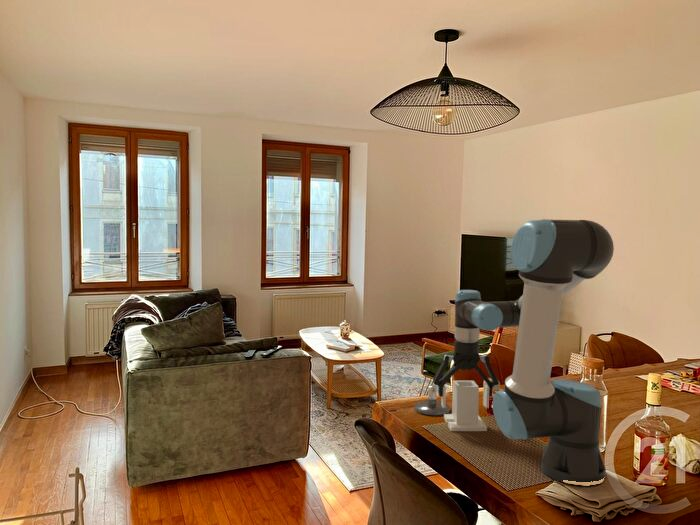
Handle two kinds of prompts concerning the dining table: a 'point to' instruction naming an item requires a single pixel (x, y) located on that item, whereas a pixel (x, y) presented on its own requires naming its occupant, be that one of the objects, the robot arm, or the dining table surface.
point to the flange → (465, 408)
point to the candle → (496, 387)
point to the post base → (431, 411)
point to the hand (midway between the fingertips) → (464, 406)
